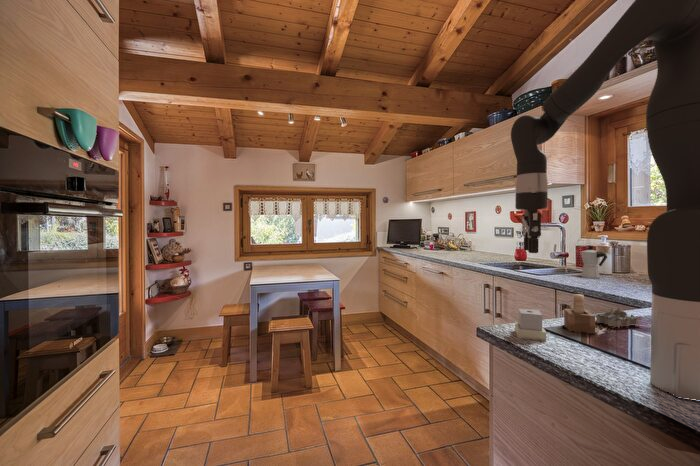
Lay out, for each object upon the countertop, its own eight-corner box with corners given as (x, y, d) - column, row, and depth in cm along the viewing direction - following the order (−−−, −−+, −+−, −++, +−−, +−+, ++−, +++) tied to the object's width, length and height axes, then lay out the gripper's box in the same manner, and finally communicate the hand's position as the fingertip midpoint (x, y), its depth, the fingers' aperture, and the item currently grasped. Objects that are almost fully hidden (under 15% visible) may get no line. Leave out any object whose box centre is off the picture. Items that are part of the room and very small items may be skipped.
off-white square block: (542, 337, 84) (542, 314, 84) (520, 335, 86) (520, 312, 86) (538, 331, 89) (538, 309, 88) (518, 329, 90) (518, 308, 90)
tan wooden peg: (584, 331, 91) (584, 296, 90) (574, 330, 91) (574, 295, 91) (582, 328, 93) (582, 294, 92) (572, 327, 94) (572, 293, 93)
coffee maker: (573, 275, 185) (574, 245, 184) (584, 275, 188) (585, 244, 187) (600, 280, 171) (601, 246, 170) (612, 279, 173) (612, 246, 173)
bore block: (595, 333, 88) (595, 316, 88) (569, 331, 90) (569, 313, 90) (588, 327, 94) (588, 310, 94) (564, 325, 96) (564, 308, 96)
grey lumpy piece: (619, 320, 102) (619, 307, 102) (644, 327, 94) (644, 313, 94) (590, 321, 100) (590, 308, 100) (614, 329, 92) (614, 315, 92)
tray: (546, 341, 83) (546, 332, 83) (517, 338, 85) (517, 329, 85) (541, 333, 89) (541, 324, 89) (514, 330, 91) (515, 322, 91)
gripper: (512, 194, 94) (512, 249, 94) (518, 189, 81) (518, 253, 81) (542, 193, 91) (541, 249, 92) (553, 188, 78) (552, 254, 78)
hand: (530, 251), depth 86 cm, fingers open, 8 cm apart
